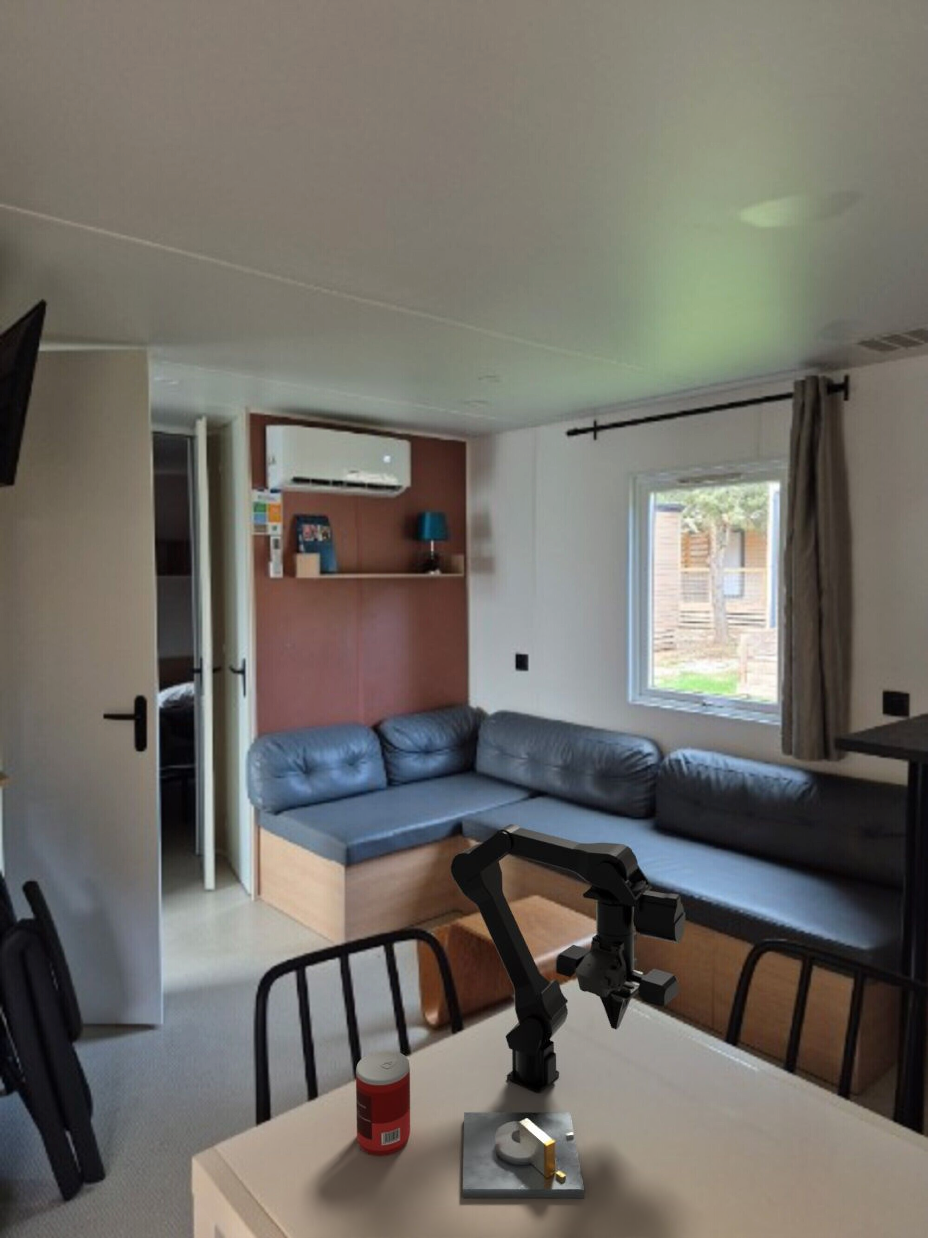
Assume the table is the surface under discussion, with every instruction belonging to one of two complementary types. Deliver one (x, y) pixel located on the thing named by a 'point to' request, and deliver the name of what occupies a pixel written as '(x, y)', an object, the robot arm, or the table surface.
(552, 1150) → the dial
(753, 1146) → the table surface
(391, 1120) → the canned food
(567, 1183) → the panel
